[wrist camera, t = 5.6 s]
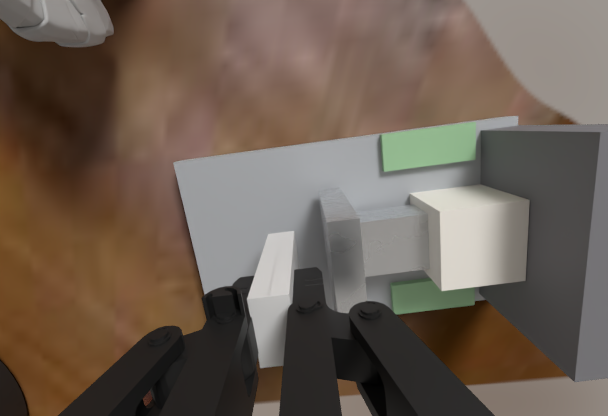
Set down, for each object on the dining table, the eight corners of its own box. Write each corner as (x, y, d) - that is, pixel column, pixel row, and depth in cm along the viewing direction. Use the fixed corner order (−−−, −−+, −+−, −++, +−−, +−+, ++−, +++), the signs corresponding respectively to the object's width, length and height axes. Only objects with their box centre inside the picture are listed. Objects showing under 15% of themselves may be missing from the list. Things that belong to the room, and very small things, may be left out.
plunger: (330, 287, 19) (343, 360, 13) (317, 190, 17) (327, 222, 11) (417, 277, 18) (470, 345, 13) (412, 177, 17) (470, 203, 11)
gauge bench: (218, 321, 21) (168, 438, 13) (181, 160, 18) (90, 185, 10) (499, 287, 21) (622, 386, 13) (504, 116, 18) (665, 107, 10)
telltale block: (412, 257, 19) (441, 291, 15) (409, 193, 18) (439, 211, 14) (479, 249, 19) (525, 280, 15) (479, 184, 18) (529, 199, 14)
